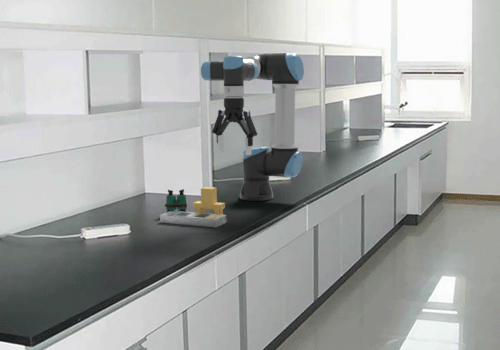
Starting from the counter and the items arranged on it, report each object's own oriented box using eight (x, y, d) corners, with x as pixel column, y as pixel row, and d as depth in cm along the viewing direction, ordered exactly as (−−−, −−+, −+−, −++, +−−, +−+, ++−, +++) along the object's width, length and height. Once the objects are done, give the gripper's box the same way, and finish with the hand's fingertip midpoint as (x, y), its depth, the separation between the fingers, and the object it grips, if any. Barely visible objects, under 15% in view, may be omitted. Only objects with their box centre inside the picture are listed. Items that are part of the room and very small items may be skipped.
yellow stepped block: (193, 217, 285) (192, 187, 283) (198, 215, 289) (197, 186, 287) (220, 219, 281) (220, 189, 279) (225, 217, 284) (224, 188, 282)
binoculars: (185, 187, 297) (187, 189, 287) (186, 213, 298) (188, 215, 288) (164, 188, 296) (164, 190, 286) (164, 213, 296) (165, 216, 287)
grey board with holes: (171, 217, 285) (171, 210, 285) (226, 222, 276) (226, 214, 275) (160, 222, 277) (160, 214, 276) (216, 227, 268) (216, 219, 267)
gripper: (202, 97, 274) (203, 152, 277) (253, 98, 259) (254, 156, 262) (215, 96, 280) (216, 150, 283) (266, 97, 264) (266, 154, 268)
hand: (234, 153), depth 273 cm, fingers open, 13 cm apart
